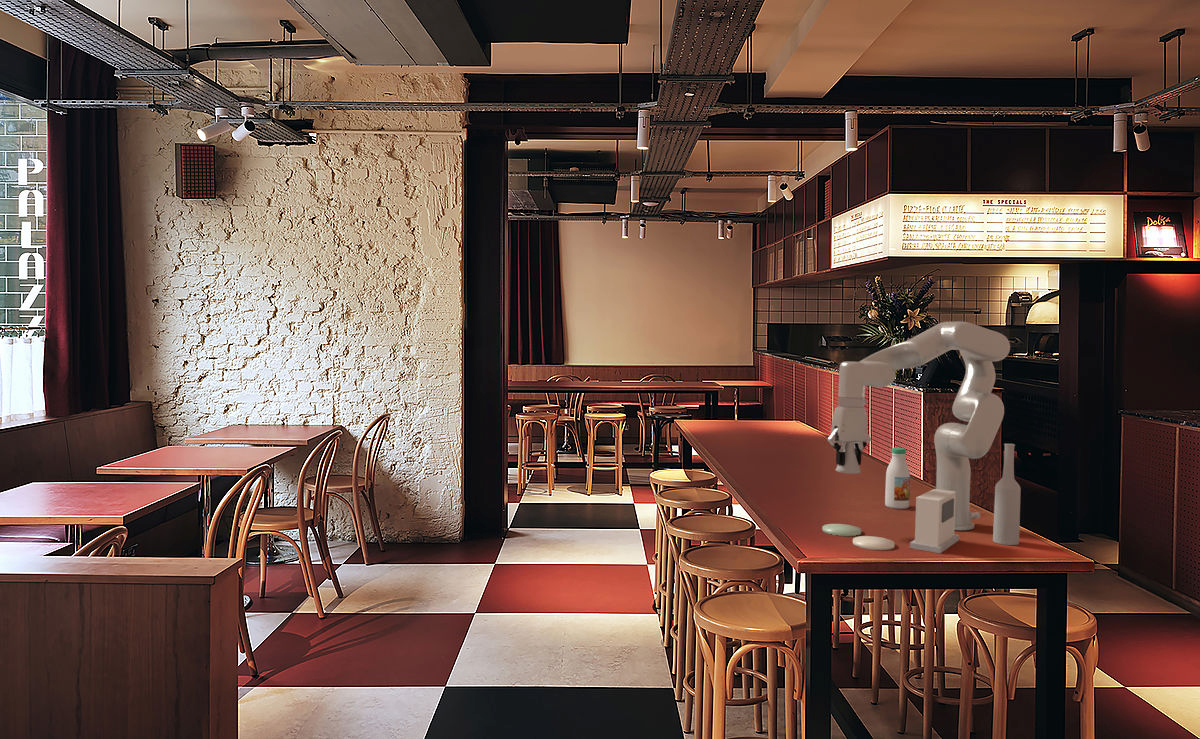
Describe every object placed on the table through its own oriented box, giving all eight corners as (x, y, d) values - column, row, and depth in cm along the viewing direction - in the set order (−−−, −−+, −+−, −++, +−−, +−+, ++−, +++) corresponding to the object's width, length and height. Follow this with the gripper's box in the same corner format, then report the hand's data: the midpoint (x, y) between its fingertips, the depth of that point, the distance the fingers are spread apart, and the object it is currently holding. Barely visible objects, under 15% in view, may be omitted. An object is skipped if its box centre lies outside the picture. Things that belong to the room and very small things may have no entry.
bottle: (1007, 546, 223) (1011, 446, 221) (987, 540, 229) (991, 443, 227) (1024, 544, 225) (1028, 445, 224) (1004, 538, 231) (1007, 442, 230)
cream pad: (875, 538, 230) (876, 534, 230) (903, 548, 220) (903, 544, 220) (844, 541, 226) (844, 537, 226) (870, 551, 216) (870, 548, 216)
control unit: (909, 548, 220) (911, 497, 219) (929, 535, 234) (931, 487, 233) (940, 553, 215) (941, 501, 214) (958, 540, 229) (960, 491, 228)
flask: (862, 475, 233) (863, 440, 233) (836, 473, 235) (837, 439, 234) (859, 471, 240) (860, 437, 240) (834, 469, 242) (835, 436, 241)
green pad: (844, 525, 244) (845, 522, 244) (869, 534, 234) (869, 531, 234) (814, 528, 240) (814, 525, 240) (838, 537, 230) (838, 534, 230)
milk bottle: (884, 508, 270) (886, 449, 269) (885, 503, 277) (887, 446, 276) (908, 510, 267) (910, 450, 266) (909, 505, 274) (911, 447, 273)
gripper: (866, 402, 243) (863, 461, 244) (819, 402, 237) (816, 463, 238) (883, 404, 236) (880, 465, 237) (835, 404, 230) (832, 467, 231)
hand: (848, 463), depth 237 cm, fingers closed on flask, 5 cm apart
